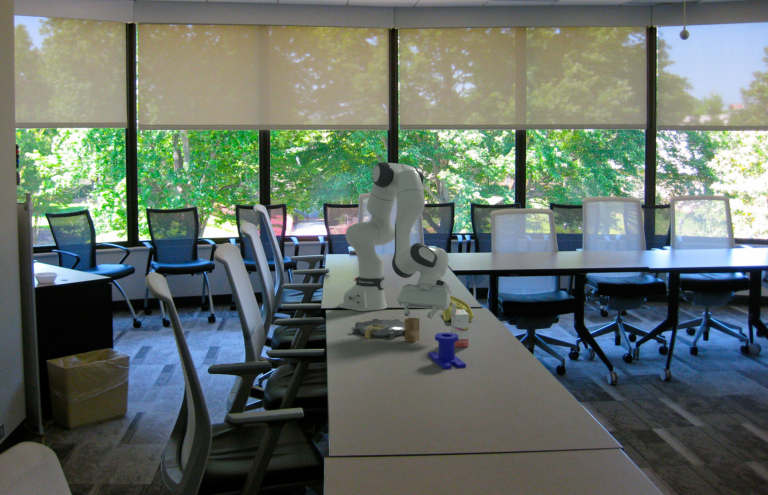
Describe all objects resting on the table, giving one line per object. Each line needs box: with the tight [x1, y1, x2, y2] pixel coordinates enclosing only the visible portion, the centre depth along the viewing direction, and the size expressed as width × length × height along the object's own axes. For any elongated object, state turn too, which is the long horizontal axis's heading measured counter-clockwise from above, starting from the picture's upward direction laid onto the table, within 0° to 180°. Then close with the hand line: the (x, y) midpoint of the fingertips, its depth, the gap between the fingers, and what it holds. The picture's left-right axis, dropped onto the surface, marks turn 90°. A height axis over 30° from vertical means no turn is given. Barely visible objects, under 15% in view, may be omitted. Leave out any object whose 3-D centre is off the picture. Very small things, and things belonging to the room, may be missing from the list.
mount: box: [427, 332, 467, 370], centre depth 200 cm, size 15×8×9 cm, turn 14°
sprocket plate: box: [351, 318, 405, 340], centre depth 239 cm, size 24×24×3 cm
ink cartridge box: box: [450, 302, 470, 348], centre depth 220 cm, size 9×5×15 cm, turn 5°
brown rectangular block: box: [404, 316, 420, 343], centre depth 225 cm, size 4×4×8 cm
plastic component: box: [442, 295, 474, 323], centre depth 261 cm, size 20×7×10 cm
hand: (417, 316), depth 227 cm, fingers open, 8 cm apart
